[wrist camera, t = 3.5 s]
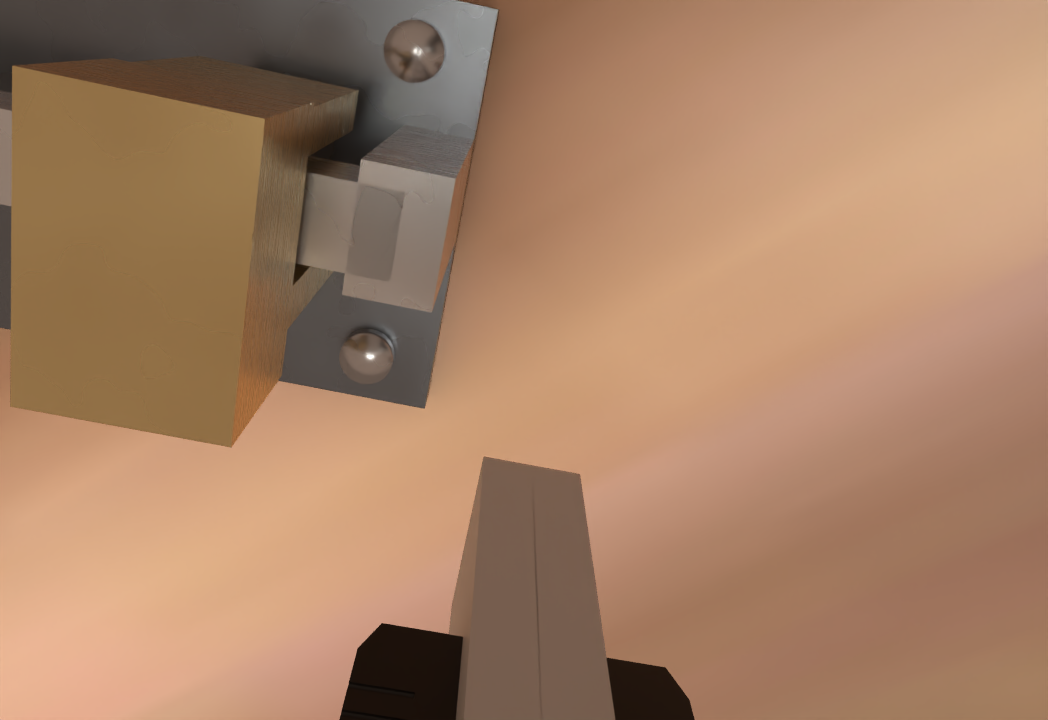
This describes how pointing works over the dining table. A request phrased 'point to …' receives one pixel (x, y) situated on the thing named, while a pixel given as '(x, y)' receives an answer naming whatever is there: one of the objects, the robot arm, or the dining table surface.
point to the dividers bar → (366, 212)
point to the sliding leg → (160, 237)
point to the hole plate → (382, 108)
